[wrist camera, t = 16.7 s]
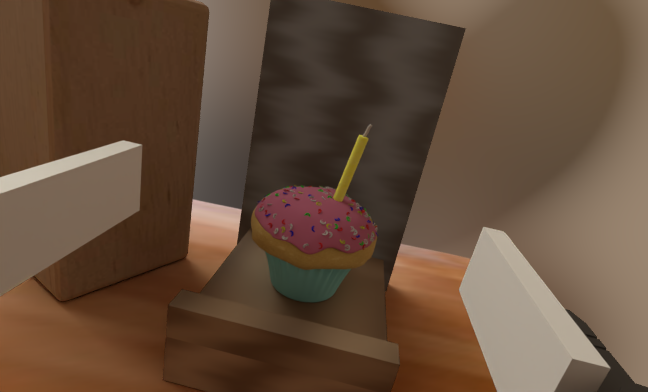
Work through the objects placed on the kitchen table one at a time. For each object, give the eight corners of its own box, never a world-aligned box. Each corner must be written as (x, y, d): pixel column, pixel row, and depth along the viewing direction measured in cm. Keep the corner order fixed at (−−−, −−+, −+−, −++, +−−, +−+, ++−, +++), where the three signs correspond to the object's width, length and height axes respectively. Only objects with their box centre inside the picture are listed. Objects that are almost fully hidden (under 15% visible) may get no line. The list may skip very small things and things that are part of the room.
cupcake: (361, 267, 31) (400, 122, 27) (360, 337, 23) (415, 146, 19) (259, 243, 31) (283, 96, 27) (222, 304, 23) (248, 109, 19)
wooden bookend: (145, 375, 21) (170, -91, 14) (241, 247, 36) (277, -8, 29) (393, 441, 20) (561, -13, 13) (385, 282, 35) (461, 30, 28)
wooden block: (189, 258, 33) (212, 5, 26) (59, 306, 25) (44, -45, 18) (124, 215, 37) (129, -9, 31) (-3, 243, 29) (-34, -53, 23)
